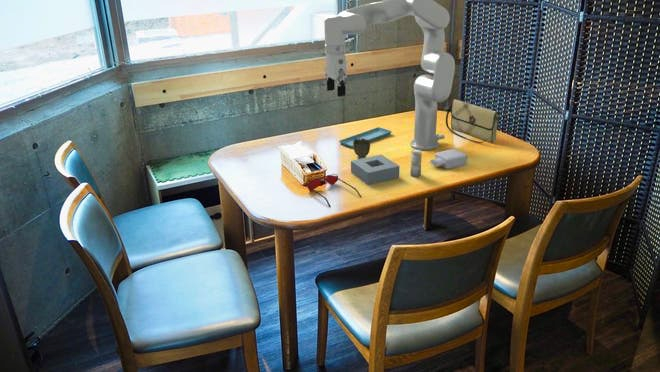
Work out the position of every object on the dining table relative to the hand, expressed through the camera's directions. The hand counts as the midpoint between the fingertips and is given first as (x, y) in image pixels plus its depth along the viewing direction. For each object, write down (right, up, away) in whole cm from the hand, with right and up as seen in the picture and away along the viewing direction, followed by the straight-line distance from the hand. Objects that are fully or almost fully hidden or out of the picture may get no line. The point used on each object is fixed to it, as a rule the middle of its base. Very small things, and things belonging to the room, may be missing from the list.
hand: (336, 93), depth 216 cm
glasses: (-1, -40, -13) cm, 42 cm away
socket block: (+15, -32, +2) cm, 36 cm away
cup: (+11, -25, +18) cm, 33 cm away
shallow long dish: (+14, -16, +40) cm, 45 cm away
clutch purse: (+63, -14, +39) cm, 75 cm away
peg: (+31, -32, +1) cm, 45 cm away
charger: (+45, -28, +9) cm, 54 cm away
